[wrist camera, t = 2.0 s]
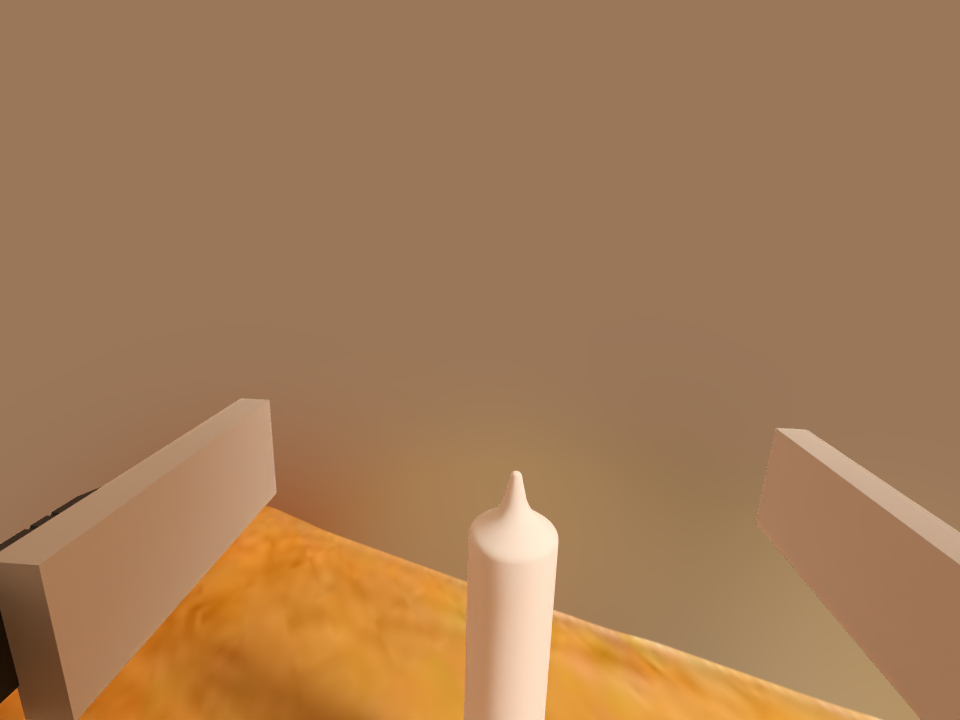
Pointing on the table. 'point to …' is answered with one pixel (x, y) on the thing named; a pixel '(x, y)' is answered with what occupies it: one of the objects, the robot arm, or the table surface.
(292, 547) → the table surface
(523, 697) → the candle
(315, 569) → the table surface
